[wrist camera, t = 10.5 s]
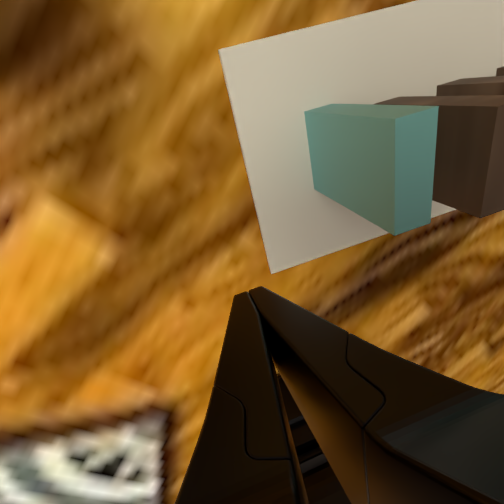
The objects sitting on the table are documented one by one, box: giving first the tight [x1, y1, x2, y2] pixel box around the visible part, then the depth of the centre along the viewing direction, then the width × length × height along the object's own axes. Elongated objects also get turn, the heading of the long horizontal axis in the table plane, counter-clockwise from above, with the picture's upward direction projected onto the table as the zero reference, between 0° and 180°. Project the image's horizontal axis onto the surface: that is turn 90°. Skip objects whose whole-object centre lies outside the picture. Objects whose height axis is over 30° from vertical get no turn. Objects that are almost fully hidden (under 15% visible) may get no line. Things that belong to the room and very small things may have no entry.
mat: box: [218, 0, 504, 274], centre depth 21 cm, size 14×28×1 cm, turn 104°
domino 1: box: [304, 104, 439, 236], centre depth 16 cm, size 2×5×8 cm, turn 13°
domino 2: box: [436, 76, 504, 96], centre depth 17 cm, size 2×5×8 cm, turn 14°
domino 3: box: [375, 95, 504, 218], centre depth 17 cm, size 2×5×8 cm, turn 14°
